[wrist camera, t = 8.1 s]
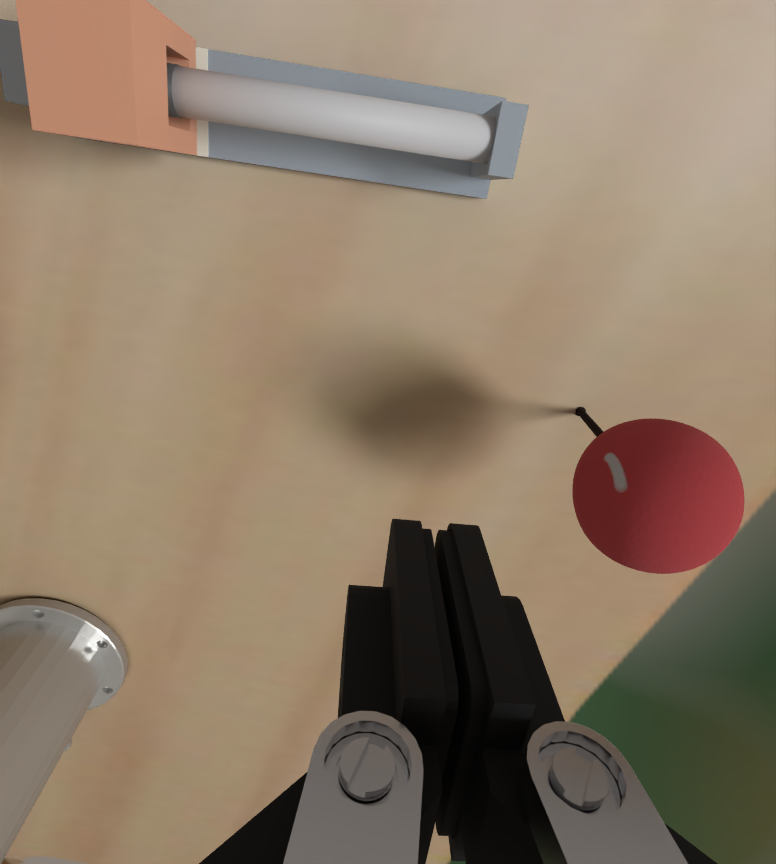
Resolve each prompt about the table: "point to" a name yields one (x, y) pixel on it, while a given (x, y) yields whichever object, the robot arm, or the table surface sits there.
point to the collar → (104, 71)
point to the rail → (329, 148)
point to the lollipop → (657, 495)
